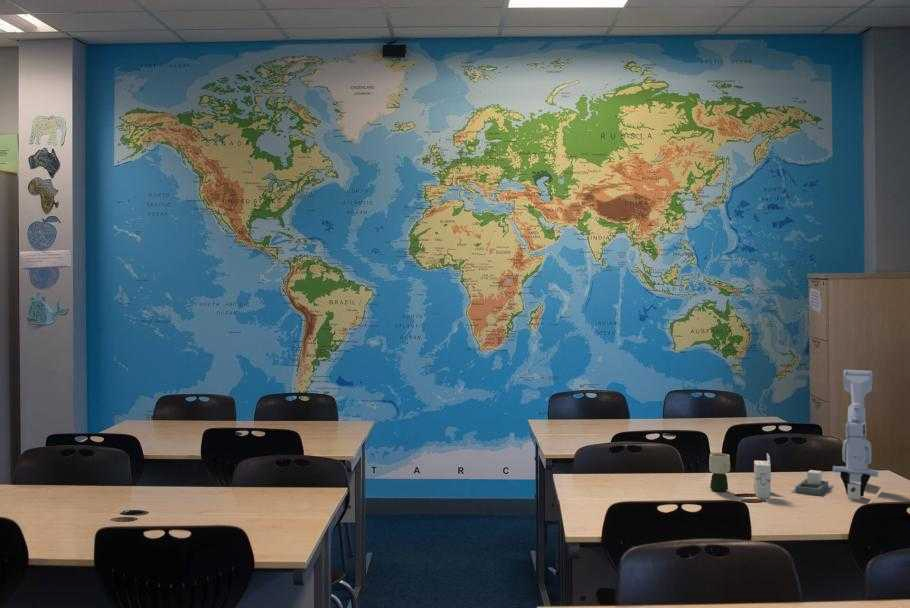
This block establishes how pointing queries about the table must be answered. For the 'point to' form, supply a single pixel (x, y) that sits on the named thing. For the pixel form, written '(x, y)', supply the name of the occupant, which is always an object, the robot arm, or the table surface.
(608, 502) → the table surface
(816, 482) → the twin plug
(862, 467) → the robot arm
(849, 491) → the plug
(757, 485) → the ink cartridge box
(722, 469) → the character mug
